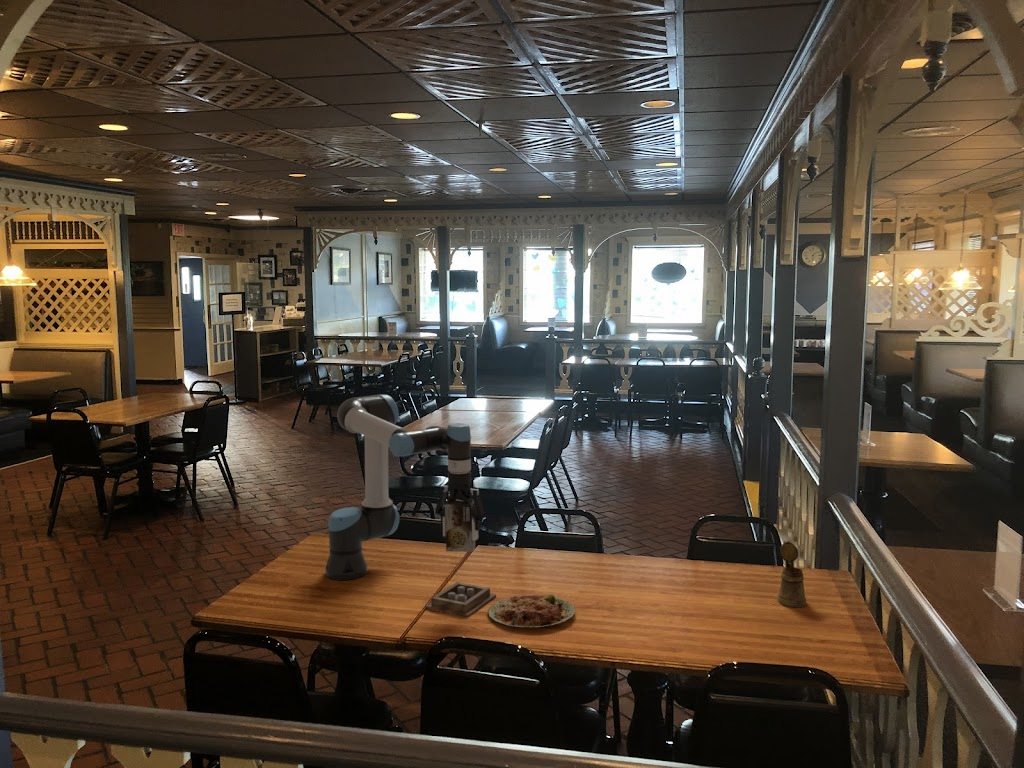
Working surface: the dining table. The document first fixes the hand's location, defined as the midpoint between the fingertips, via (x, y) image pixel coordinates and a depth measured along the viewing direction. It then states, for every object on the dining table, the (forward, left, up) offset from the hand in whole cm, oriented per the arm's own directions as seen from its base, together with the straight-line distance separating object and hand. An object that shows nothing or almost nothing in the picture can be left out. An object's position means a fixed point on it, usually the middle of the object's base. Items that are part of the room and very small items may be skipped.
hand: (460, 537), depth 260 cm
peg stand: (0, 0, -22) cm, 22 cm away
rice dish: (+25, +2, -23) cm, 34 cm away
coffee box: (0, 0, -4) cm, 4 cm away
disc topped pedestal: (+97, +51, -22) cm, 112 cm away
